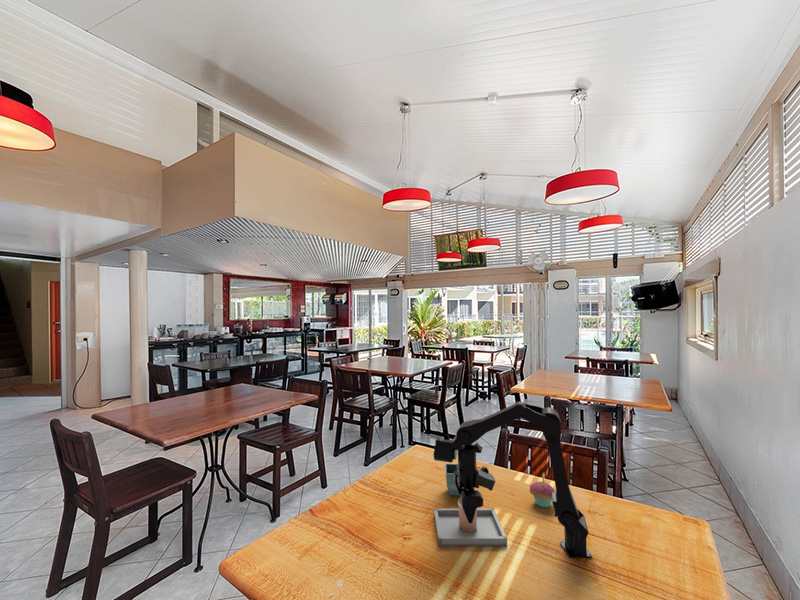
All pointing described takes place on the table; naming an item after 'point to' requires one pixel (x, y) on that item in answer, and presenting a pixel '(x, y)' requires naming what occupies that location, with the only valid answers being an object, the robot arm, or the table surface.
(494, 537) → the tray
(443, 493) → the table surface
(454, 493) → the flower pot
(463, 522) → the cup
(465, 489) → the robot arm
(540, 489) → the cupcake
